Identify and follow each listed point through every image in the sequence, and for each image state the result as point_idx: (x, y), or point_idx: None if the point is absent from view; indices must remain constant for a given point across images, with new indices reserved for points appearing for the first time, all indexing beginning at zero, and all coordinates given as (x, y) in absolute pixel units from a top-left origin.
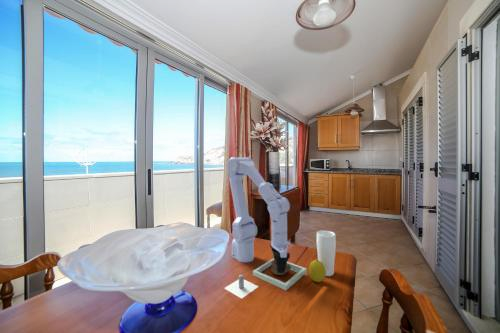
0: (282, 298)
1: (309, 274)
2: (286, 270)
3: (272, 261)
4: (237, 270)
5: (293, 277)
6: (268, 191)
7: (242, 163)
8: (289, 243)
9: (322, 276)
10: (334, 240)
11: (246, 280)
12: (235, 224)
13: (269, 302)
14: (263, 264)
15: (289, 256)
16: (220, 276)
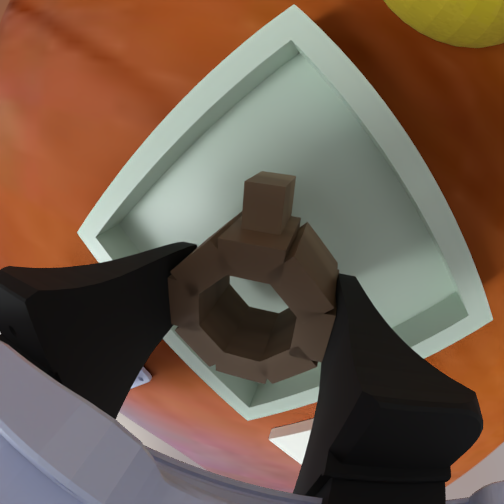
0: (493, 322)
1: (445, 42)
2: (306, 228)
3: (211, 359)
4: (183, 409)
5: (435, 213)
6: None
7: None
8: (51, 473)
9: None
10: None
11: (298, 433)
12: None
13: (477, 379)
14: (172, 348)
15: (479, 408)
16: (225, 455)
